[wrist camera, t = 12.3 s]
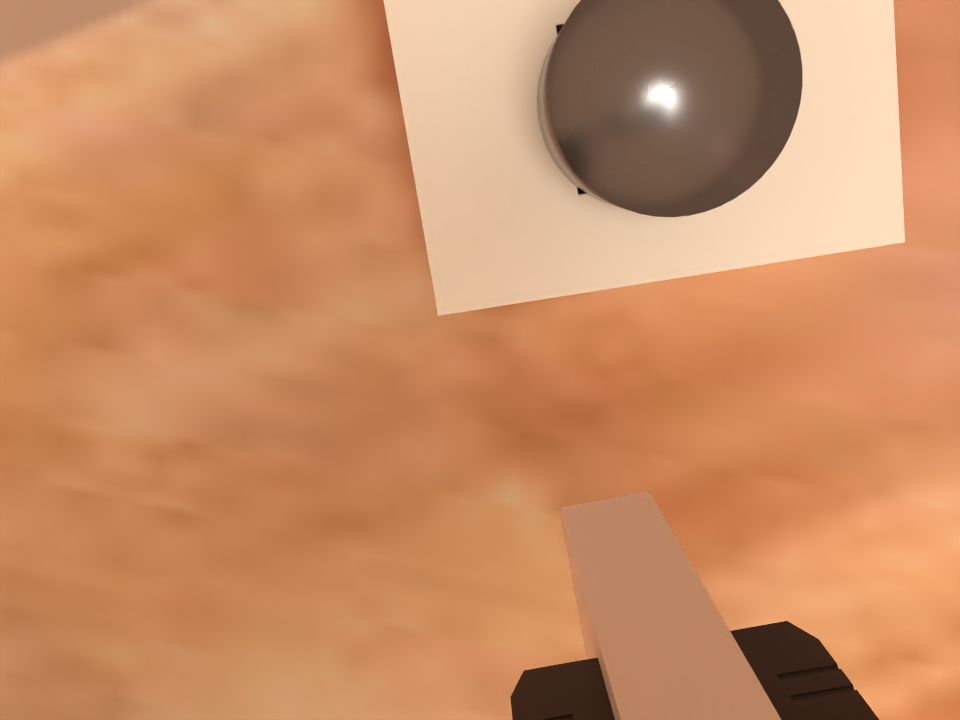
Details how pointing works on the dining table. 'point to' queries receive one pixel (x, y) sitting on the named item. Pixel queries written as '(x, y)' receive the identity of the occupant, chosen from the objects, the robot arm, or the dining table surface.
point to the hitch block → (604, 227)
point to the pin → (670, 100)
